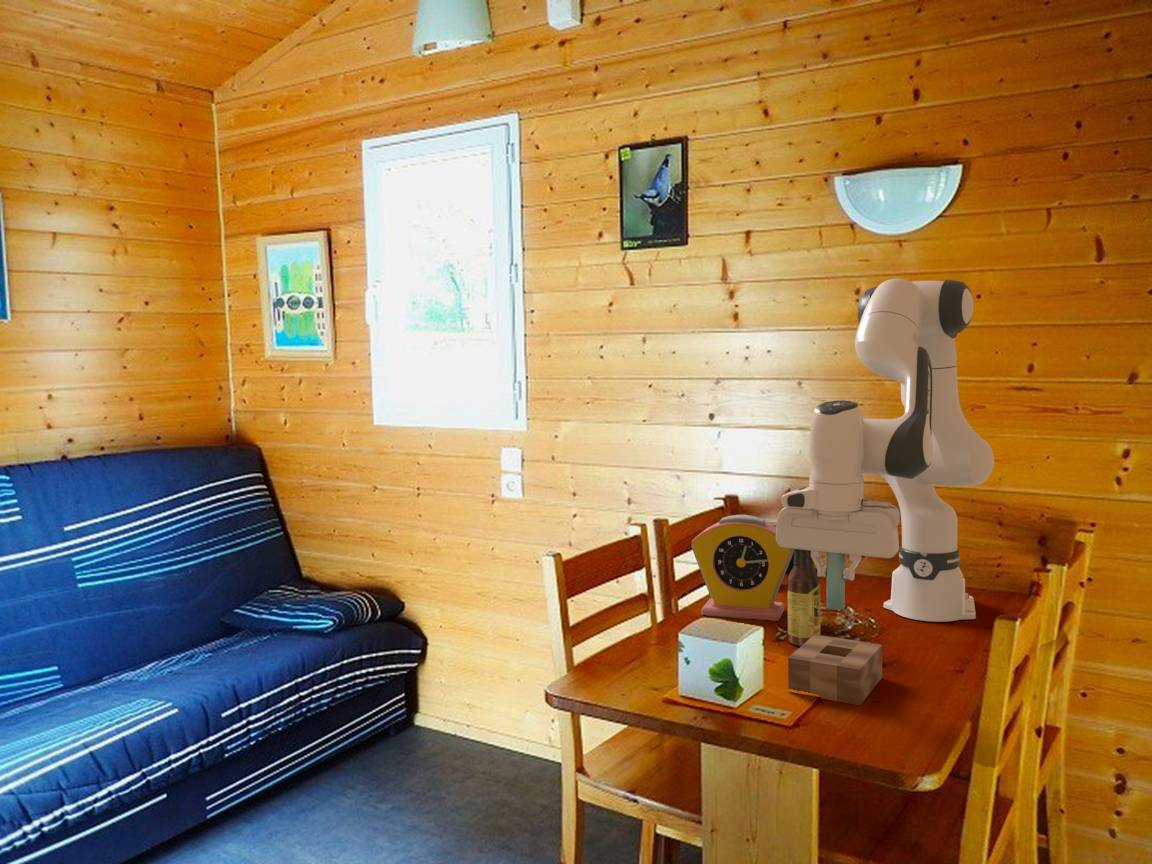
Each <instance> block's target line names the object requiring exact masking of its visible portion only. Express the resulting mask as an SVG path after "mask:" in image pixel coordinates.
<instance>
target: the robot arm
mask: <svg viewBox="0 0 1152 864" xmlns="http://www.w3.org/2000/svg"><path fill="white" fill-rule="evenodd" d="M857 303H858V304H857V321H858V327H857V330H856V334H855V337H854V338H855V339H854V349H855V354H856V356H857V358H858V359H859V361H860V363H861V364H863V366H864V367H865V368H866V369H867V370H869V371H870V372H872V373H873V374H876V375H877V376H879V377H882V378H885V379H888V380H893V381H895V382H898V383H899V384H900V400H901V403H902V406H903V407H904V414H903V415H901V416H899V417H896V418H868V417H862V412H861V411H862V410H861V407H860V405H859V404H858V403H857V402H856V401H851V400H844V399H843V400H842V399H839V400H831V401H824V402H822V403H819V404H818V405H816V406H815V407H814V409H813V412H812V416H811V422H810V423H811V424H810V431H809V432H810V433H809V447H808V448H809V449H808V450H809V458H810V462H811V470H810V475H809V479H808V480H809V481H808V482H809V486H803V487H800V488H798V489H795V490H794V489H793V490H792V491H788V492H787V493H785V494H783V495H782V496H781V505H782V507H783V508H782V509H781V510H780V511H778V512H779V513H778V515H777V520H776V525H775V527H776V542H777V543H778V545H779V546H780V547H782V548H792V549H802V550H811V558H812V560H813V562H814V564H815V565H814V566H815V568H816V569H817V571H816V573H817V576H818V578H827V564H824V562H823V560H822V558H821V556H822V555H823V553H827V552H833V553H841V554H845V555H849V561H850V562H852V563H851V564H850V565H849V567H845V569H844V570H843V574H844V576H843V580H845V581H851V582H852V581H854V580H855V569H857V567H858V565H859V563H860V562H861V560H862V556H863V557H871V558H872V557H873V558H882V559H891V558H893V557H895V556H896V555H897V553H898V556H899V561H898V562H899V563H900V565H899V566H898V567H897V568H895V569H894V570H893V571H892V575H891V590H890V592H891V593H890V599H888V600H886V601H884V602H883V606H882V607H883V608H885V609H887V610H889V611H892V612H893V613H894V614H897V615H898V616H901V617H904V618H907V619H911V620H917V621H922V622H924V621H925V622H933V623H934V622H936V623H937V622H939V623H941V622H942V623H943V622H955V621H959V620H960V621H961V620H975V619H977V614H976V613H977V612H976V607H975V600H974V599H975V598H974V596H972V595H970V594H969V593H967V592H966V578H964V574H963V573H962V571H961V568H960V565H961V561H960V560H961V554H960V550H959V546H958V522H959V520H958V519H959V518H958V516H957V513H956V511H955V509H954V508H953V507H952V506H951V505H950V504H948V503H947V502H945V501H944V500H943V499H942V498H941V497H940V496H939V495H938V494H937V492H936V491H937V490H936V489H935V486H936V485H938V486H945V487H946V486H947V487H948V486H949V487H955V488H960V487H961V488H962V487H971V486H979V485H982V484H983V483H985V482H986V481H987V480H988V479H989V477H990V476H991V475H992V472H993V470H994V466H995V456H994V452H993V449H992V447H991V445H990V444H989V443H988V441H986V440H985V439H984V438H982V437H981V436H980V435H979V434H978V433H977V432H976V431H975V430H974V429H973V428H972V427H971V425H970V424H969V422H968V420H967V419H966V417H965V415H964V413H963V410H962V407H961V404H960V398H959V397H960V396H959V389H958V388H959V387H958V385H959V384H958V366H957V365H958V362H957V361H958V360H957V347H956V341H955V338H956V337H957V336H958V334H960V333H962V332H963V331H965V329H966V328H967V327H968V326H969V325H970V323H971V320H972V316H973V314H974V313H973V312H974V298H973V296H972V293H971V289H970V287H969V286H968V285H967V284H966V283H965V282H964V281H962V280H961V281H960V280H954V279H945V280H943V281H942V280H912V281H910V280H909V279H904V278H891V279H887V280H884V281H882V282H881V283H880V284H879V285H876V286H873V287H870V288H868V289H866V290H865V291H864V292H863V294H862V295H861V296H860V297H859V299H858V302H857ZM863 474H870V475H872V474H873V475H879V476H881V478H883V479H884V481H886V483H887V484H888V485H889V487H890V488H891V490H892V492H893V494H894V496H895V498H896V500H897V503H898V507H899V508H898V507H897V506H896V505H894V504H892V503H891V502H890V501H889V500H887V501H886V500H882V501H881V500H879V501H877V500H875V499H874V500H873V499H864V491H865V490H864V489H865V488H864V475H863ZM934 485H935V486H934ZM900 521H901V545H900V543H899V542H900V541H899V540H900V539H899V532H898V526H899V525H900Z"/></svg>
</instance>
